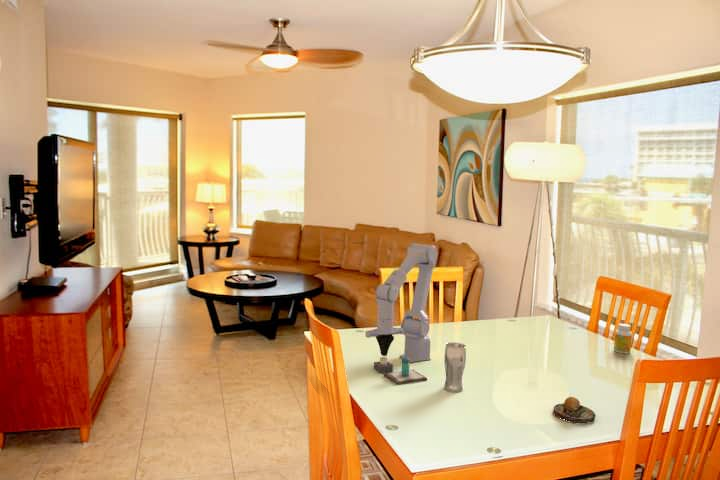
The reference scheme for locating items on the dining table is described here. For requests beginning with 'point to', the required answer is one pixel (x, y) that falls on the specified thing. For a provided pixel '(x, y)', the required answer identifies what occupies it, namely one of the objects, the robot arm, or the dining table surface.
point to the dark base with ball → (574, 411)
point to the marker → (405, 367)
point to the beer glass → (454, 366)
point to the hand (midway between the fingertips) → (383, 355)
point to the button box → (383, 367)
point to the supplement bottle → (623, 339)
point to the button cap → (383, 361)
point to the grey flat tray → (400, 379)
